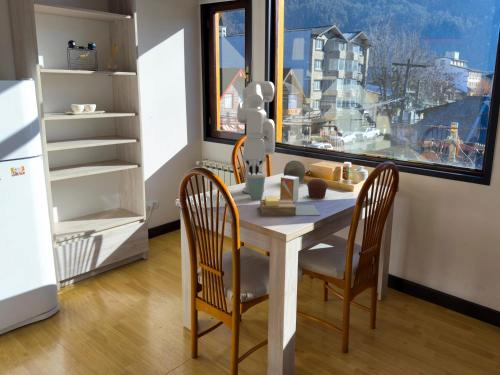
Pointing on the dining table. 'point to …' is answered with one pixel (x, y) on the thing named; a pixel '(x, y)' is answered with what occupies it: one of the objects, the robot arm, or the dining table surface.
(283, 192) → the small box
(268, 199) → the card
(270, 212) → the deck
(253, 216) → the dining table surface
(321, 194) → the muffin
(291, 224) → the dining table surface
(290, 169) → the cantaloupe
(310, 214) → the mat
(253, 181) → the disposable coffee cup
